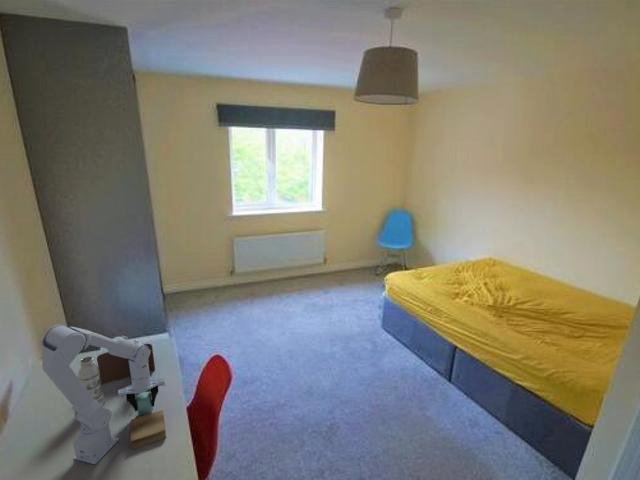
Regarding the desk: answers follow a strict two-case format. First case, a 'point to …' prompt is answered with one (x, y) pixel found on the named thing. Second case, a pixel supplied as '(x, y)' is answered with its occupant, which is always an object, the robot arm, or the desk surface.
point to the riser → (147, 429)
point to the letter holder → (118, 366)
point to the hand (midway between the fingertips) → (144, 407)
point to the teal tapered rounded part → (144, 403)
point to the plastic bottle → (91, 379)
